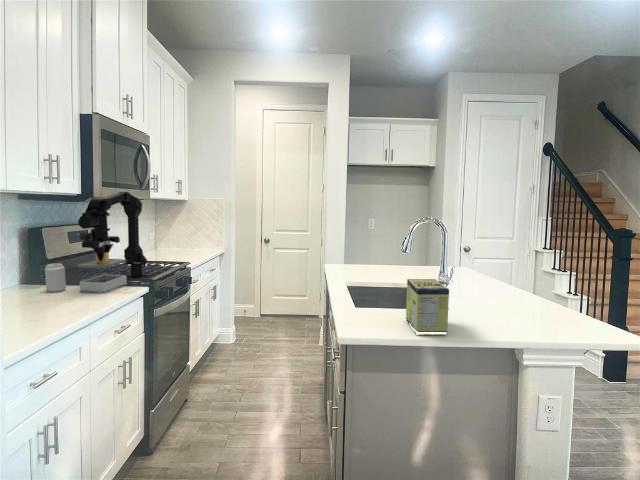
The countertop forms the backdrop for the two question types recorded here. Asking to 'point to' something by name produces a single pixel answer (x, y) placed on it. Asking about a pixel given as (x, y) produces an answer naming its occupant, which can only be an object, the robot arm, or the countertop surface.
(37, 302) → the countertop surface
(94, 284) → the tub
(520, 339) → the countertop surface
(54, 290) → the can
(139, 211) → the robot arm
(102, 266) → the grey lid
